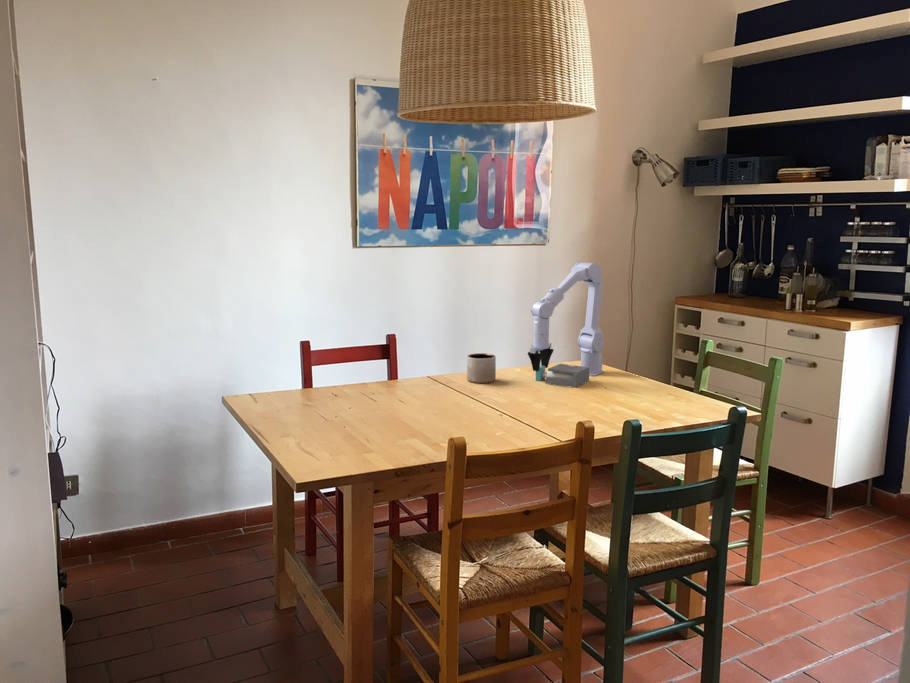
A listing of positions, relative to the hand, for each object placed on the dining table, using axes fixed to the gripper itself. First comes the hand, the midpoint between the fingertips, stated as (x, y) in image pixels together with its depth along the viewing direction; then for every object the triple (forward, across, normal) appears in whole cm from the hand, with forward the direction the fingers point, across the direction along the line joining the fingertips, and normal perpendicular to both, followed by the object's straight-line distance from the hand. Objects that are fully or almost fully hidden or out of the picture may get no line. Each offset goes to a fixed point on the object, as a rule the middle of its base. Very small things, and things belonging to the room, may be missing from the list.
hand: (540, 369), depth 301 cm
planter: (+5, +13, -18) cm, 23 cm away
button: (+1, -6, +11) cm, 12 cm away
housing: (+4, -1, +10) cm, 11 cm away
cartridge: (+4, 0, +7) cm, 8 cm away
